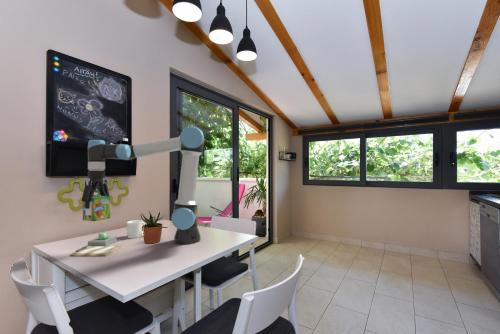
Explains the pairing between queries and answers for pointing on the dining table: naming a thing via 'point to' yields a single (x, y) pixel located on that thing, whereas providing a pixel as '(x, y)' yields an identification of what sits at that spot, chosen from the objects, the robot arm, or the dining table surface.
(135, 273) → the dining table surface
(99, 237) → the button
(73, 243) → the dining table surface
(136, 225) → the mug
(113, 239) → the button base
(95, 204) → the chalk box
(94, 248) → the clipboard
